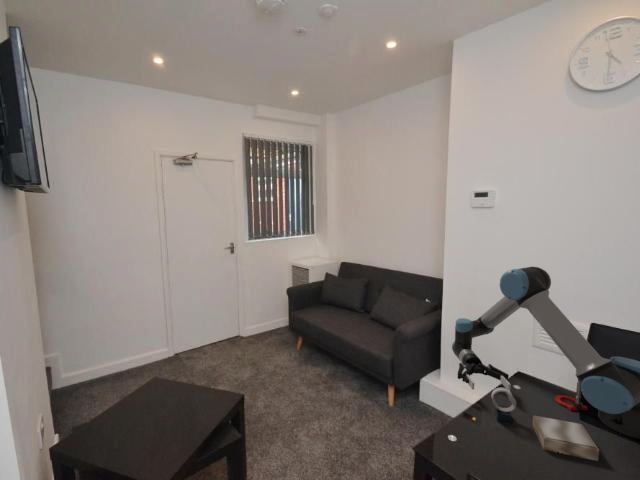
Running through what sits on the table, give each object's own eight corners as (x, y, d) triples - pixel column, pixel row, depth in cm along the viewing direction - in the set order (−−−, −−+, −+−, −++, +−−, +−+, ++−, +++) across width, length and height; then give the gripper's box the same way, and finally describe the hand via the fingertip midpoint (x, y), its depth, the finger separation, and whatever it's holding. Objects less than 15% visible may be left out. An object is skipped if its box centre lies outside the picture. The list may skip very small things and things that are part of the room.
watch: (517, 425, 112) (519, 395, 111) (491, 420, 115) (493, 391, 114) (513, 415, 118) (515, 387, 116) (489, 411, 120) (490, 383, 119)
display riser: (581, 434, 108) (582, 423, 107) (598, 461, 96) (599, 448, 96) (532, 425, 112) (533, 414, 112) (543, 449, 101) (544, 437, 101)
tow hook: (549, 398, 129) (568, 411, 120) (551, 366, 128) (570, 378, 119) (570, 397, 129) (590, 411, 120) (571, 366, 129) (592, 377, 119)
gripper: (498, 369, 146) (524, 397, 125) (442, 367, 148) (458, 394, 127) (499, 354, 145) (525, 379, 124) (442, 352, 147) (458, 376, 126)
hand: (491, 387), depth 125 cm, fingers open, 13 cm apart
